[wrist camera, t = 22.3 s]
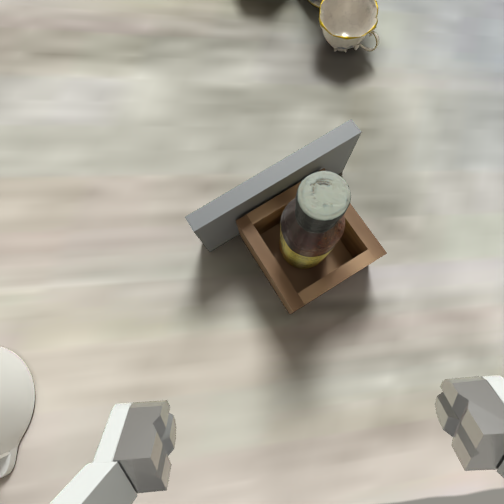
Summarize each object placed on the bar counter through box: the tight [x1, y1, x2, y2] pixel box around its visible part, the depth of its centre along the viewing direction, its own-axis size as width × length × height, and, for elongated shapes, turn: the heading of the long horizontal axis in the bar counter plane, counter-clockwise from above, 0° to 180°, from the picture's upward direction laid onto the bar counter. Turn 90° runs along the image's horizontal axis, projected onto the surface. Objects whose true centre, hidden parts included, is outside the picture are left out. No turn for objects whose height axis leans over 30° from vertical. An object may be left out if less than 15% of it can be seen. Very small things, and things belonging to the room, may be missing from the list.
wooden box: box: [236, 168, 387, 314], centre depth 41 cm, size 12×12×7 cm
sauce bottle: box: [279, 171, 351, 269], centre depth 34 cm, size 6×6×20 cm
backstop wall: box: [185, 119, 361, 252], centre depth 42 cm, size 22×2×10 cm, turn 122°
